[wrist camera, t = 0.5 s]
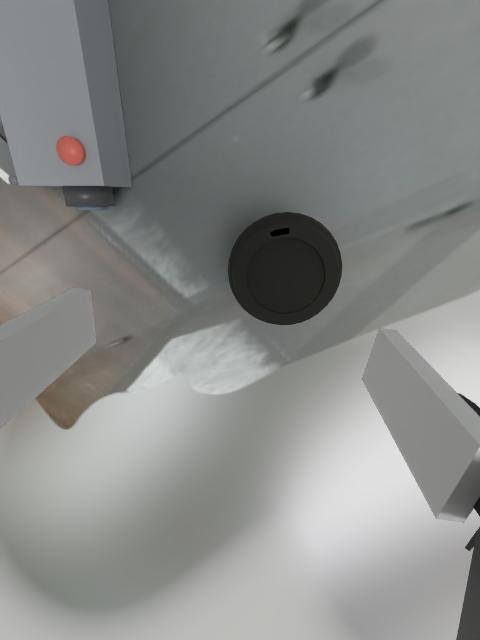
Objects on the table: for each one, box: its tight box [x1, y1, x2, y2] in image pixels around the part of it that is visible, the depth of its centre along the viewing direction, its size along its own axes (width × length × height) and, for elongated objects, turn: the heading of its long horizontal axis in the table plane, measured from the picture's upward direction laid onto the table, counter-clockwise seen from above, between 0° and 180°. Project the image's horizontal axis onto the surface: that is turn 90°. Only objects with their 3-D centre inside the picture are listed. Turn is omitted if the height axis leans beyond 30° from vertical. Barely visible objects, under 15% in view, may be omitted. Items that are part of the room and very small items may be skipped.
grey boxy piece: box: [0, 0, 132, 210], centre depth 30 cm, size 20×9×8 cm, turn 0°
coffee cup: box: [228, 212, 342, 325], centre depth 31 cm, size 10×10×15 cm
